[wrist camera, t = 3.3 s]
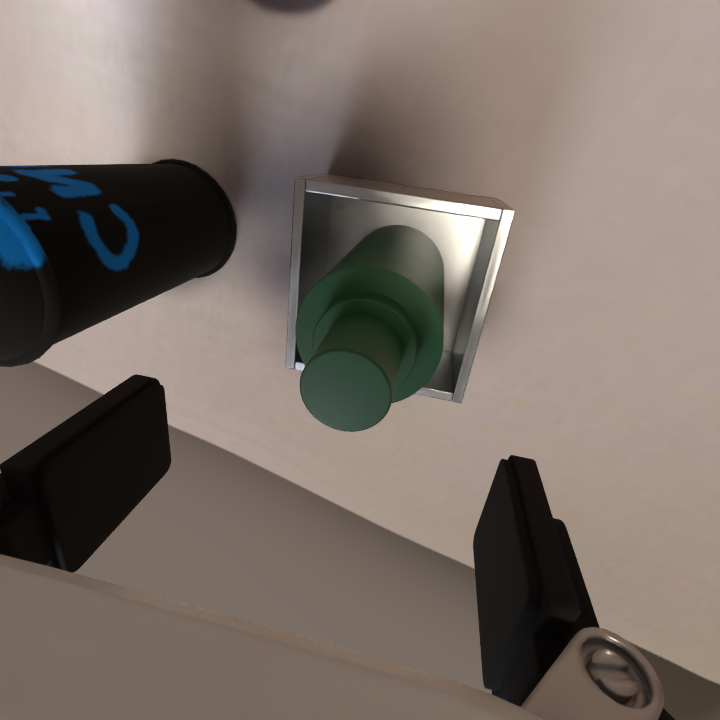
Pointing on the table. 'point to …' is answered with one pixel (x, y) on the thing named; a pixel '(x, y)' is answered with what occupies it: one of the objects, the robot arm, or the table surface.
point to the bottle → (372, 328)
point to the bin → (417, 210)
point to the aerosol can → (100, 244)
